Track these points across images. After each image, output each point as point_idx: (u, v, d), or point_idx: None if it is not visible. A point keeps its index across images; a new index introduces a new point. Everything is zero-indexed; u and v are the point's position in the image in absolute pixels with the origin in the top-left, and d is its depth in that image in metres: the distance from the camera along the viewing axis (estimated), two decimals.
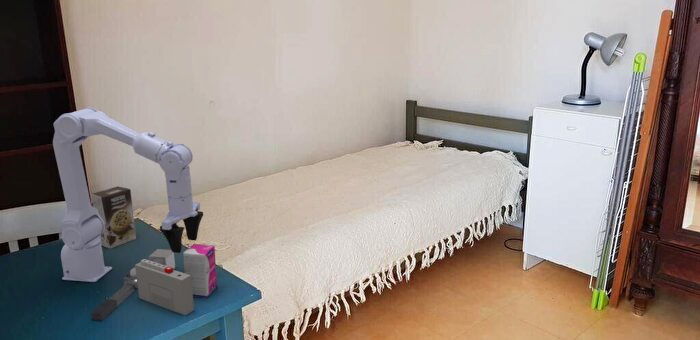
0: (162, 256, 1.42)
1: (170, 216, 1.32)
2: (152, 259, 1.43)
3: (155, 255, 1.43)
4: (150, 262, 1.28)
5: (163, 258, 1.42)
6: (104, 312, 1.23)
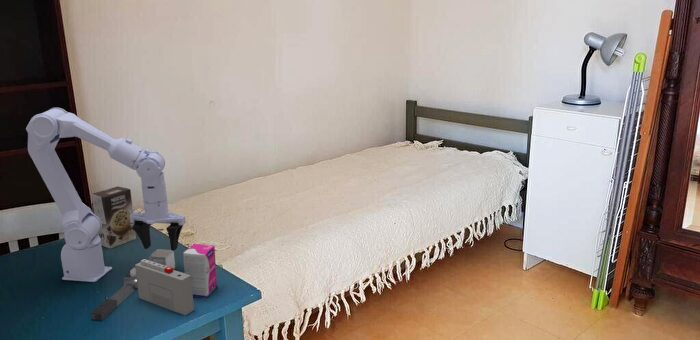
0: (162, 256, 1.42)
1: None
2: (152, 259, 1.43)
3: (155, 255, 1.43)
4: (150, 262, 1.28)
5: (163, 258, 1.42)
6: (104, 312, 1.23)
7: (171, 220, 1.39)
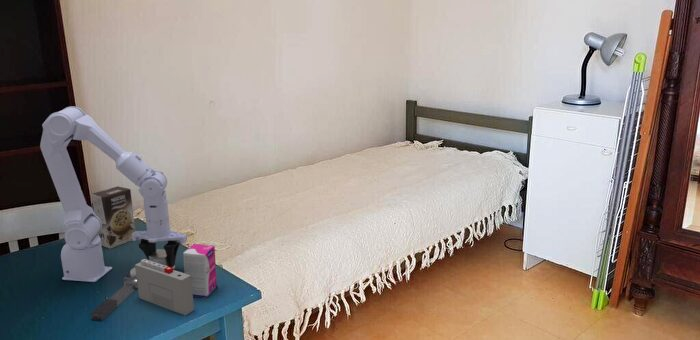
0: (162, 256, 1.42)
1: None
2: (152, 259, 1.43)
3: (155, 255, 1.43)
4: (150, 262, 1.28)
5: (163, 258, 1.42)
6: (104, 312, 1.23)
7: (173, 238, 1.41)
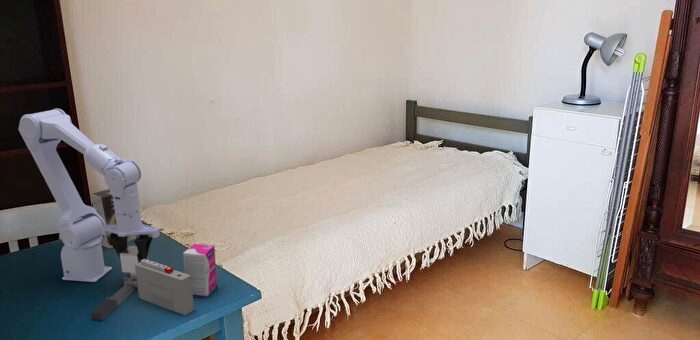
0: (133, 253, 1.34)
1: None
2: (123, 256, 1.35)
3: (126, 252, 1.35)
4: (150, 262, 1.28)
5: (135, 255, 1.34)
6: (104, 312, 1.23)
7: (144, 232, 1.32)
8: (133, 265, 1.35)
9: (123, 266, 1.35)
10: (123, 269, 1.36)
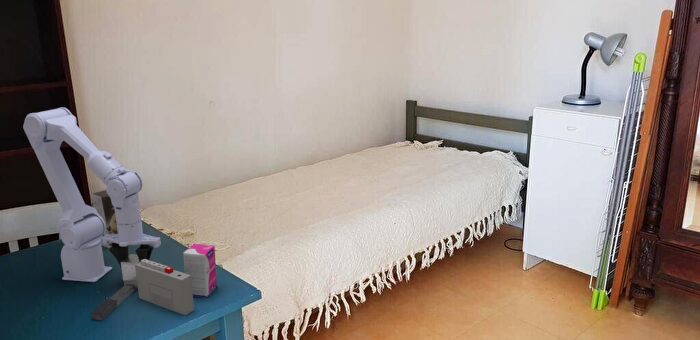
0: (134, 262, 1.35)
1: None
2: (124, 265, 1.35)
3: (127, 260, 1.36)
4: (150, 262, 1.28)
5: None
6: (104, 312, 1.23)
7: (145, 242, 1.33)
8: (134, 274, 1.35)
9: (124, 275, 1.36)
10: (124, 277, 1.36)
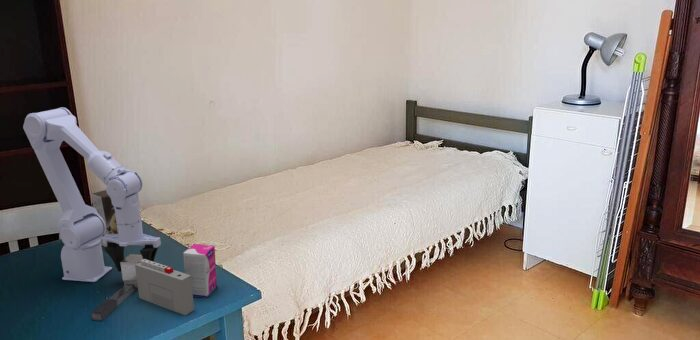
0: (134, 262, 1.35)
1: None
2: (124, 265, 1.35)
3: (127, 260, 1.36)
4: (150, 262, 1.28)
5: (135, 264, 1.35)
6: (104, 312, 1.23)
7: (145, 242, 1.33)
8: (134, 274, 1.36)
9: (124, 275, 1.36)
10: (124, 277, 1.36)
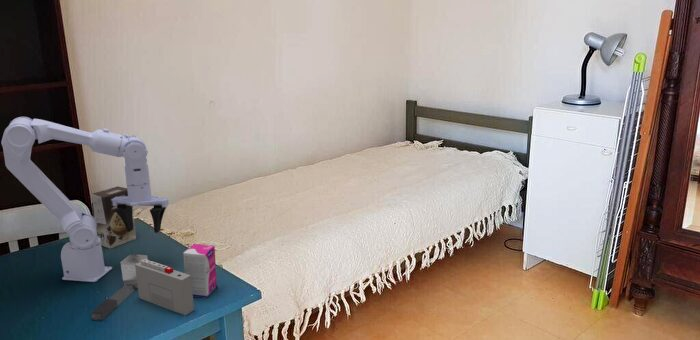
0: (134, 262, 1.35)
1: None
2: (124, 265, 1.35)
3: (127, 260, 1.36)
4: (150, 262, 1.28)
5: (135, 264, 1.35)
6: (104, 312, 1.23)
7: (154, 202, 1.43)
8: (134, 274, 1.36)
9: (124, 275, 1.36)
10: (124, 277, 1.36)
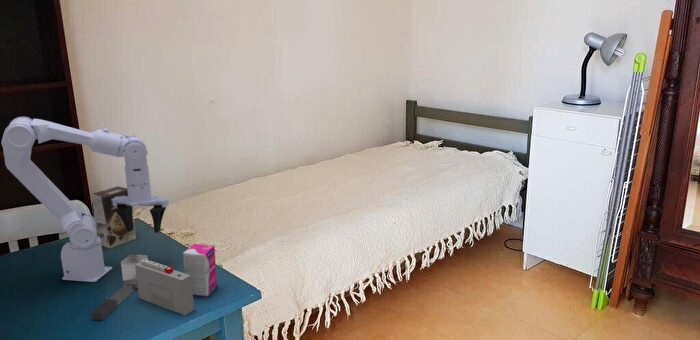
0: (134, 262, 1.35)
1: None
2: (124, 265, 1.35)
3: (127, 260, 1.36)
4: (150, 262, 1.28)
5: (135, 264, 1.35)
6: (104, 312, 1.23)
7: (154, 202, 1.43)
8: (134, 274, 1.36)
9: (124, 275, 1.36)
10: (124, 277, 1.36)
